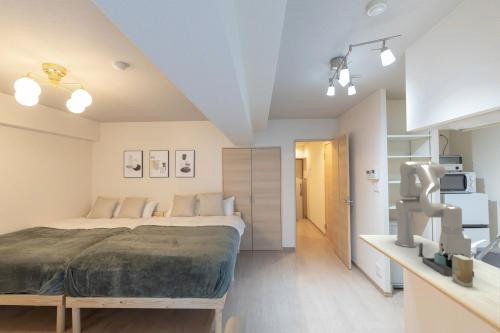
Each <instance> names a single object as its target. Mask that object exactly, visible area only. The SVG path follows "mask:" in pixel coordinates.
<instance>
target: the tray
mask: <svg viewBox="0 0 500 333" xmlns="http://www.w3.org/2000/svg"><path fill="white" fill-rule="evenodd" d="M421 258H422V263H423V264H425V265H426V266H427V267H429V268H431V269H432V270H434V271H436V272H437V273H439V274H440V275H442V276H444V277H452V268H449V267H448V266H446V265H442V264H438V263H436V262H435V261H434V257H421ZM474 277H475V272H474V270H473V278H474Z"/></svg>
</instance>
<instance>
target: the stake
mask: <svg viewBox="0 0 500 333" xmlns="http://www.w3.org/2000/svg"><path fill="white" fill-rule="evenodd" d="M418 245H419V248H418V250H419V254H417V255H418V257H420V258H425V256H424V255H423V254H424V253H423V249H424V248H423V242H419V244H418Z"/></svg>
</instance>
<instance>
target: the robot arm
mask: <svg viewBox="0 0 500 333" xmlns="http://www.w3.org/2000/svg"><path fill="white" fill-rule="evenodd" d="M399 173H400V182H399V195H400V196H401V198H399V199H397V200H396V201H395V204H394V206H395V210H396V221H397V222H396V227H397V228H396V232H397V234H396V239H397V240H395V241H394V243H395V245H396V246H400V247H406V248H416V247H417V244H416V242H414V240H415V239H414V238H415V236H414V232H415V231H414V218H413V216H412V215H411V213H414V214H417V213H418V214H420V213H421V214H422V213H423V214H424V215H425V216H426V217H428V218H442V231H441V232H440V236H439V243H438V249H439V250H438V251H437V252H438V253H439V254H441V255H443V256H444V257H445V258H446V266H448V267H449V268H452V260H450V259H451V255H452V254H455V255H462V256H465V255H467V252H466V245H465V239H464V235H463V234H464V233H463V232H464V231H465V228H463V208H461V207H460V206H457V205H453V204H451V203H440V202H439V203H435V202H434V203H432V202H431V201H430V200H429V194H432V193H436V192H437V191H439V190H440V189H441V187H442V186H441V183H440V181H439V179H442V178H444V177H445V176H446V169H445V166H443V165H442V164H440V163H437V162H434V161H430V160H408V161H407V160H406V161H402V162H401V164H400V166H399ZM416 175H417V177H416ZM417 178H418V180H419V182H420V183H416V182H417V181H416V180H417ZM444 253H445V254H444Z"/></svg>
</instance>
